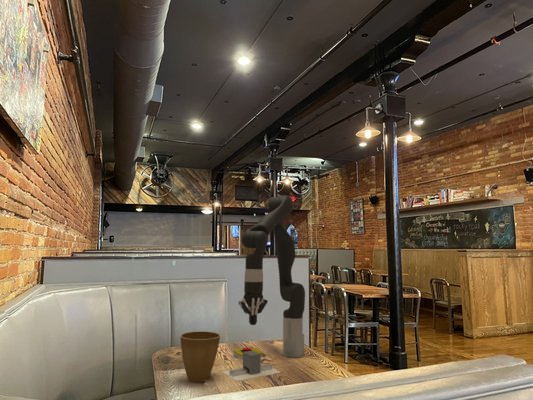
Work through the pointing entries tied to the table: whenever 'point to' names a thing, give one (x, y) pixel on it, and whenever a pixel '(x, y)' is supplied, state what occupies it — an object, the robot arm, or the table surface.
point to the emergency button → (239, 352)
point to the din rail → (246, 370)
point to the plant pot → (199, 354)
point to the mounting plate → (248, 376)
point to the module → (252, 361)
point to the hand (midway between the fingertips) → (252, 324)
